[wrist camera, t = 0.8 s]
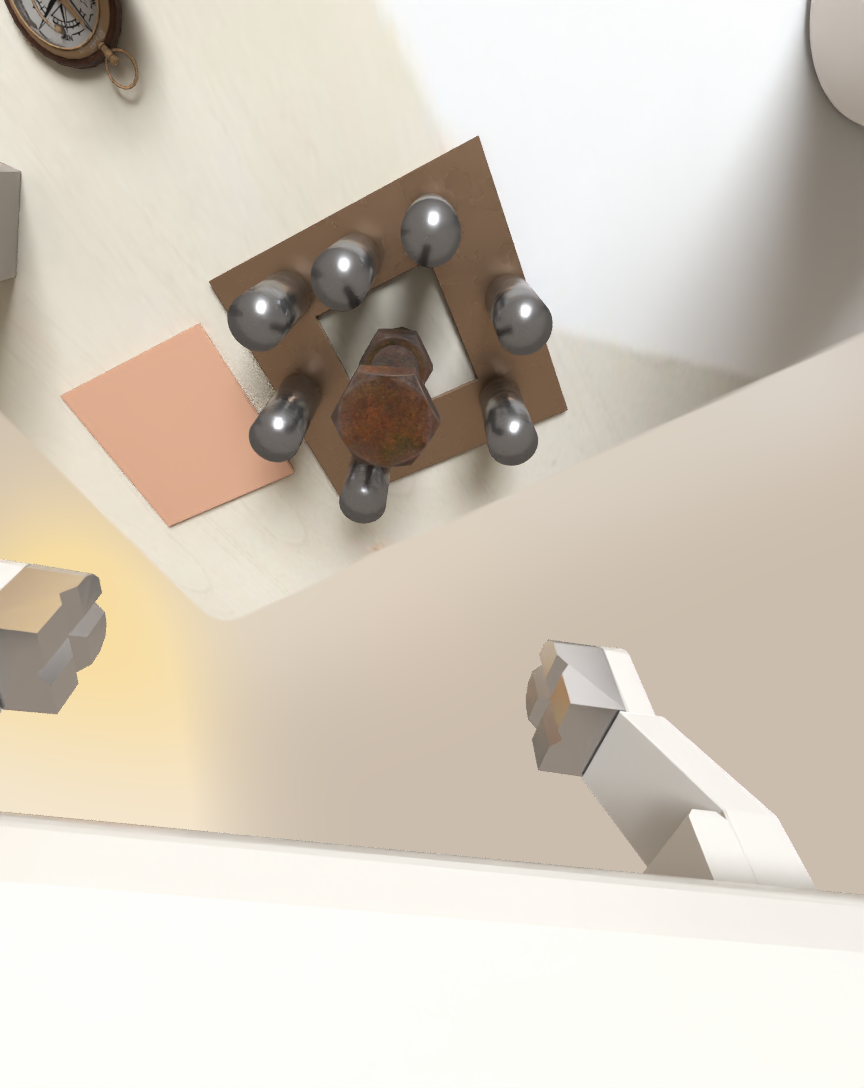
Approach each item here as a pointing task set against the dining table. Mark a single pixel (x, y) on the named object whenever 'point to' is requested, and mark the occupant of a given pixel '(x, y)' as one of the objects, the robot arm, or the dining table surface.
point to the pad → (177, 426)
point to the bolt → (388, 402)
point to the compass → (72, 31)
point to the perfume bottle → (9, 220)
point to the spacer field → (342, 284)
